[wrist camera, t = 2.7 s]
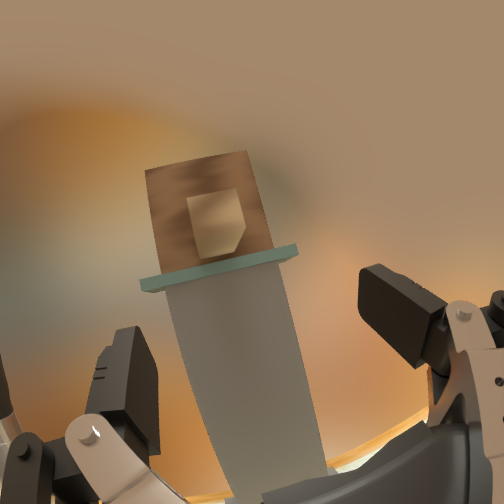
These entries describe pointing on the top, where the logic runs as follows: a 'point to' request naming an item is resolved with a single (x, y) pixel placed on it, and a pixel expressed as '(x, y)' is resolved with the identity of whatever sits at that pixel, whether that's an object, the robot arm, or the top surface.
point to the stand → (246, 370)
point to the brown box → (206, 211)
